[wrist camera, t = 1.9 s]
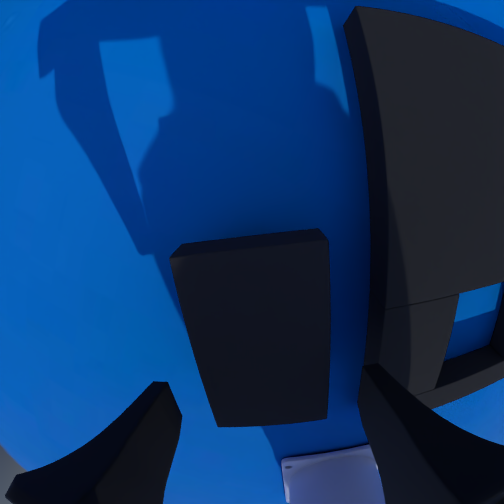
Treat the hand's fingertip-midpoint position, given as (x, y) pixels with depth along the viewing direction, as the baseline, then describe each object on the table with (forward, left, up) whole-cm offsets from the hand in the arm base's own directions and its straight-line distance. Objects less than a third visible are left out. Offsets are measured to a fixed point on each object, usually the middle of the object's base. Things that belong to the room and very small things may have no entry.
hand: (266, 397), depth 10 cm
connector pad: (+2, 0, -4) cm, 4 cm away
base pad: (+4, -12, -4) cm, 13 cm away
